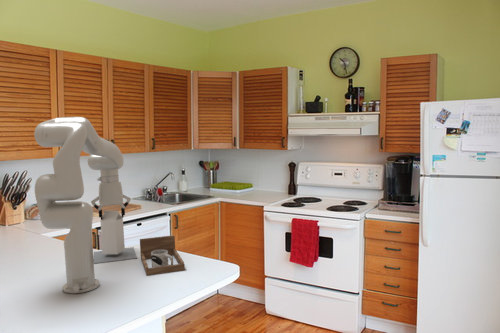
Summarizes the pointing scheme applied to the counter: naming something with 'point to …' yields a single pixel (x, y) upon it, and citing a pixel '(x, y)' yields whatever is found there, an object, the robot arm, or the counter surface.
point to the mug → (160, 258)
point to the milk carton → (112, 233)
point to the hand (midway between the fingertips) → (112, 217)
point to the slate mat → (114, 256)
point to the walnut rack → (160, 244)
